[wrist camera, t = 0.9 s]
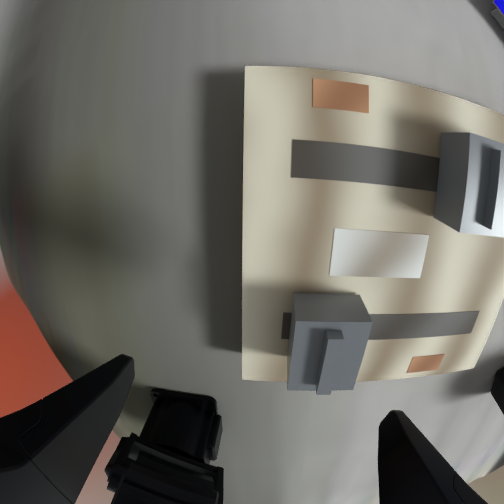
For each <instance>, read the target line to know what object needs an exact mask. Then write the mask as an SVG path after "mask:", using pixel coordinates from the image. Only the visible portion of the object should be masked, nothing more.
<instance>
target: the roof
mask: <svg viewBox="0 0 504 504" xmlns="http://www.w3.org/2000/svg"><path fill="white" fill-rule="evenodd" d="M493 3H494V4H495V6H496V8H495V9H494V10H493V11H492V12H491V14H492V15H493V17H494V18H495V19H496V20H497V22H498V23H499V24H500V26H501V27H502V28H503V30H504V0H494V1H493Z"/></svg>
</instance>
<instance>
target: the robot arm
mask: <svg viewBox="0 0 504 504" xmlns="http://www.w3.org/2000/svg"><path fill="white" fill-rule="evenodd" d="M134 375H135V371H134V359H133V358H132V357H130V356H127V355H125V354H121V355H119V356H117V357H115V358H114V359H112V360H110V361H108V362H107V363H105V364H103V365H101V366H100V367H98V368H96V369H94V370H93V371H91V372H89V373H87V374H85V375H84V376H82V377H80V378H78V379H77V380H75V381H73V382H72V383H69V384H68V385H66V386H64V387H62V388H61V389H59V390H57V391H55V392H53V393H52V394H50V395H48V396H46V397H44V398H43V400H42V399H40V400H39V401H37V402H35V403H33V404H31V405H29V406H27V407H25V408H23V409H21V410H19V411H16V412H14V413H11V414H9V415H6V416H4V417H1V418H0V504H75V502H76V500H77V498H78V496H79V494H80V492H81V490H82V488H83V485H84V484H85V481H86V480H87V478H88V476H89V473H90V472H91V470H92V468H93V466H94V464H95V462H96V460H97V458H98V456H99V454H100V452H101V450H102V448H103V446H104V444H105V442H106V440H107V439H108V437H109V434H110V433H111V431H112V429H113V427H114V425H115V423H116V422H117V420H118V418H119V416H120V413H121V411H122V408H123V405H124V403H125V400H126V398H127V395H128V392H129V390H130V387H131V385H132V382H133V380H134ZM151 397H152V400H153V404H154V405H153V407H152V409H151V411H150V414H149V416H148V418H147V420H146V423H145V425H144V427H143V429H142V432H141V434H140V436H137V435H136V434H134V433H131V435H130V437H122V438H121V440H120V442H119V445H118V446H117V448H116V450H115V452H114V454H113V455H112V457H111V459H110V461H109V462H108V464H107V466H106V468H105V473H106V475H107V477H108V480H107V481H108V482H109V483H108V486H107V489H108V490H110V491H112V492H114V493H115V494H114V497H113V499H112V502H111V504H223V470H224V469H223V468H222V467H218V466H217V467H216V466H212V465H209V463H210V460H213V461H214V460H216V459H217V454H218V449H219V445H220V440H221V435H222V419H221V416H220V415H218V412H217V402H216V400H215V399H213V398H209V397H201V396H194V395H187V394H181V393H175V392H169V391H163V390H158V389H153V390H152V391H151ZM378 476H379V500H380V504H488V503H487V502H486V501H485V500H483V499H482V498H481V497H480V496H479V495H478V494H477V493H476V492H475V491H474V490H473V489H472V488H471V487H470V486H469V485H468V484H467V483H466V482H465V481H464V480H463V479H462V478H461V477H460V476H459V475H458V474H457V472H456V471H454V469H453V468H452V467H451V466H450V464H449V463H448V462H447V461H446V460H445V459H444V458H443V457H442V455H441V454H440V453H439V452H438V451H437V450H436V449H435V447H434V446H433V445H432V444H431V443H430V442H429V441H428V439H427V438H426V437H425V436H424V435H423V434H422V433H421V432H420V430H419V429H418V428H417V427H416V426H415V425H414V424H413V423H412V421H411V420H410V419H409V418H408V417H407V416H406V415H405V414H404V412H403V411H401V410H392V411H390V412H389V413H388V414H387V416H386V417H385V418H384V419H383V420H382V422H381V423H380V425H379V440H378Z"/></svg>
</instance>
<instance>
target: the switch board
mask: <svg viewBox="0 0 504 504" xmlns="http://www.w3.org/2000/svg"><path fill="white" fill-rule="evenodd" d="M441 132H470V133H473V134H477V135H480V136H483V137H486V138H489V139H492V140H495V141H497V142H500V143H503V144H504V115H502V114H500V113H498V112H495V111H493V110H491V109H488V108H485V107H483V106H480V105H478V104H475V103H472V102H469V101H467V100H464V99H461V98H458V97H455V96H452V95H448V94H445V93H442V92H439V91H435V90H432V89H428V88H424V87H420V86H417V85H413V84H408V83H404V82H400V81H395V80H390V79H385V78H380V77H375V76H369V75H363V74H357V73H350V72H342V71H334V70H325V69H314V68H301V67H282V66H245V94H244V151H243V239H242V379H243V380H257V381H276V382H287V353H288V344H289V335H290V325H291V315H292V304H293V293H318V294H355V295H360V296H361V298H362V300H363V302H364V305H365V307H366V309H367V311H368V313H369V315H370V317H371V319H372V322H373V323H372V327H371V331H370V335H369V338H368V342H367V346H366V349H365V353H364V356H363V359H362V363H361V366H360V369H359V372H358V376H357V379H356V382H359V381H377V380H390V379H402V378H412V377H420V376H428V375H436V374H443V373H449V372H456V371H461V370H467V369H472V368H474V366H475V365H476V363H477V360H478V358H479V356H480V354H481V352H482V350H483V348H484V346H485V344H486V341H487V339H488V337H489V334H490V332H491V330H492V327H493V325H494V322H495V320H496V317H497V315H498V312H499V309H500V307H501V304H502V301H503V298H504V238H503V237H495V236H486V235H477V234H468V233H459V232H457V231H456V230H454V229H452V228H451V227H449V226H447V225H445V224H444V223H442V222H440V221H438V220H437V219H435V218H433V216H434V209H435V201H436V193H437V184H438V174H439V162H440V145H441Z"/></svg>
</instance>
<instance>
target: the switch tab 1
mask: <svg viewBox="0 0 504 504" xmlns="http://www.w3.org/2000/svg"><path fill="white" fill-rule="evenodd" d="M372 323H373V322H372V319H371V317H370V315H369V313H368V311H367V309H366V307H365V305H364V302H363V300H362V298H361V296H360V295H355V294H318V293H293V304H292V315H291V325H290V335H289V344H288V353H287V390H309V391H316V395H325V394H331V390H353V388H354V385H355V382H356V379H357V376H358V372H359V369H360V366H361V363H362V359H363V356H364V353H365V349H366V346H367V342H368V338H369V335H370V331H371V327H372Z"/></svg>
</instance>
